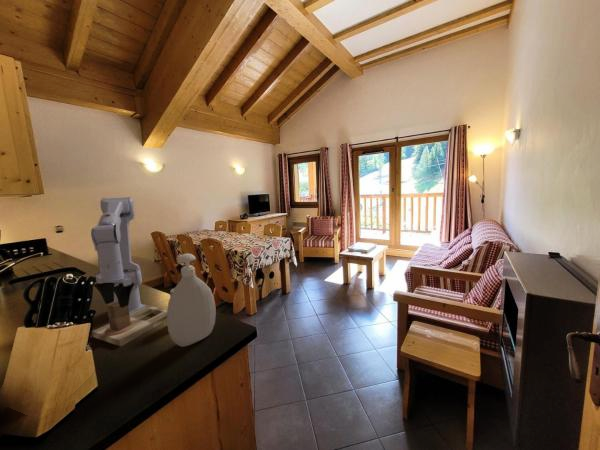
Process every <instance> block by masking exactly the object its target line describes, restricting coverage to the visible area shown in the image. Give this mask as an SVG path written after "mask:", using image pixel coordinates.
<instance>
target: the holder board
mask: <svg viewBox="0 0 600 450" xmlns="http://www.w3.org/2000/svg"><path fill="white" fill-rule="evenodd" d="M167 310H168V309H167V308H166V309H165V308H160V307H156V306H152V305H146V307H144V308H141V309H139V310H137V311H135V312H133V313H131V314H129V315H130V322H131V325H130V326H128V327H126V328H124V329H122V330H120V331H116V330H112V329H110V324H109V323H107V324H105V325H103V326H100V327H99V328H96V329H94V330H92V331H91V333H92V337H93V338H95V339H97V340H101V341H103V342H106V343H109V344H112V345H115V346H118V347H122V346H125V345H126V344H128V343H129V342H131V341H134V340H135V339H137V338H139V337H140V336H142V335H144V334H145V333H147V332H150V331H151V330H153V329H155V328H156V327H159V326H160V325H162V324H163V323H167ZM150 315H154V316H152V317H150V318H149V319H146V320H143V318H146V317H147V316H150Z"/></svg>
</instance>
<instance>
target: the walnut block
mask: <svg viewBox="0 0 600 450" xmlns="http://www.w3.org/2000/svg"><path fill="white" fill-rule="evenodd" d="M106 309H107V310H106V311H107V317H108V324H110V329H112V330H116V331H120V330H122V329H124V328H126V327H128V326H130V325H131V322H130V315H129V308H128V305H127V306H125V307H123V308H121V307H120V305H119V302H118V301H116V302H114V303H113V302H111V303H108V304H106Z"/></svg>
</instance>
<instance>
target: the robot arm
mask: <svg viewBox="0 0 600 450" xmlns="http://www.w3.org/2000/svg"><path fill="white" fill-rule="evenodd" d="M99 204H100V209H101V213H102V215H101V216H100V217H99V221H98V223H97V225H95V226H94V227H92V228H91V230H90V231H91V232H90V237H91V241H92V243H93V246H94V251H96V253H97V254H96V255H97V261H98V266H99V274H97V275H95V278H96V282H97V283H94V284H93V287H94V288H95V289H96V290H97V291H98V292H99V294H100V296H101V297H102V299H103V302H104V303H105V304H106V305H109V304H111V303H114V302H116V301H118V302H119V305H120V307H121V308H123V307H125V306H127V305H128V308H129V314H131V313H133V312H135V311H137V310H140V309H142V308H144V307H146V306H147V304H144V303H142V302H141V297H140V289H139V286H140V285H142V282H143V281H142V280H143V279H142V277H143V276H142V271H141V267H140V265H139V264H138V263H135V262H133V261H132V253H131V252H132V250H131V240H130V228H129V227H130V223H131V222H130V221H132V220H134V219H135V206H134V204H135V203H134V199H133V198H132V196H127V197H110V198H109V197H106V198H105V197H103V198H101V200H100V203H99Z"/></svg>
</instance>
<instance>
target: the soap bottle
mask: <svg viewBox="0 0 600 450" xmlns="http://www.w3.org/2000/svg"><path fill="white" fill-rule="evenodd" d="M195 260H197V258H196V256H195V255H194V254H192V253H187V252H186V253H183V254H179V255H177V262H178V263H184V264H185V266H182V267H181V268H180V272H181V278H180V280H179V282H178V283H177V284H176V286H175V287H174V288H175V289H174V291H173V293H172V295H171V298H169V300H168V306H167V309H166V310H167V321H166V324H167V331H168V334H169V336H170V339H171V341H173V343H175V345H177V346H179V347H181V348H184V347H188V346H191V345H193V344H195V343H198V342H200V341H202V340H203V339H205V338H207V337H208V336H210V335H211V333H213V332H212V331H213V329H214V327H215V324H216V316H217V312H216V311H217V310H216V303H215V302H216V301H215V297H214V295H213V292H212V289H211V288H210V287H209V286H208V285H207V284H206V283H205V281H203V280H202V279H200V278H199V277H198V276H197V274H196V267H194V265H192V264H191V265H190V262H193V261H195Z"/></svg>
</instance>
